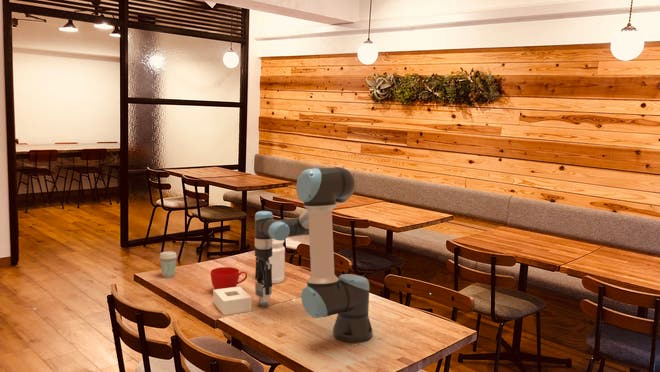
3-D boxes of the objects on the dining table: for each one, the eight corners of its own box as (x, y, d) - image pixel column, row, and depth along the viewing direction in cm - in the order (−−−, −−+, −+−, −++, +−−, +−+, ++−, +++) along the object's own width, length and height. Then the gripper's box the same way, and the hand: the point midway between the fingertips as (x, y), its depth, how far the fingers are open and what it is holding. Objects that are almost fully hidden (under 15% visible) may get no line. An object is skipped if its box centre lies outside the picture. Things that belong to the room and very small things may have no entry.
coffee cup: (159, 274, 292) (159, 251, 291) (176, 273, 295) (176, 250, 293) (159, 279, 284) (159, 255, 282) (177, 278, 287) (177, 254, 285)
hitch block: (251, 311, 244) (251, 297, 243) (223, 315, 239) (223, 301, 238) (239, 299, 258) (239, 286, 257) (213, 303, 253) (213, 289, 252)
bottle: (259, 275, 295) (259, 221, 291) (286, 276, 294) (286, 222, 290) (254, 283, 281) (254, 227, 277) (282, 284, 280) (283, 228, 276)
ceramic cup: (250, 293, 266) (250, 272, 265) (213, 297, 260) (213, 276, 258) (243, 285, 278) (243, 265, 277) (208, 288, 272) (208, 268, 270)
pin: (273, 306, 250) (274, 284, 248) (258, 309, 247) (258, 286, 245) (268, 301, 256) (268, 280, 255) (253, 304, 253) (253, 282, 251)
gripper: (280, 251, 241) (280, 304, 244) (263, 241, 258) (263, 290, 261) (263, 253, 237) (263, 307, 240) (247, 242, 255) (247, 292, 258)
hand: (263, 298), depth 251 cm, fingers closed on pin, 7 cm apart
